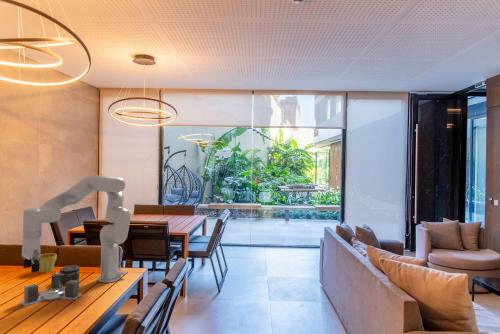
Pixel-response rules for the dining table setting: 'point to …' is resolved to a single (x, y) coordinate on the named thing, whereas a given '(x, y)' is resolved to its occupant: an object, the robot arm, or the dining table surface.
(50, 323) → the dining table surface
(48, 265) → the plant pot
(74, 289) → the knob
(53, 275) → the knob
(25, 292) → the knob
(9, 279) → the dining table surface
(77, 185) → the robot arm
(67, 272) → the jar
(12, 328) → the dining table surface
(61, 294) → the tribrach base
